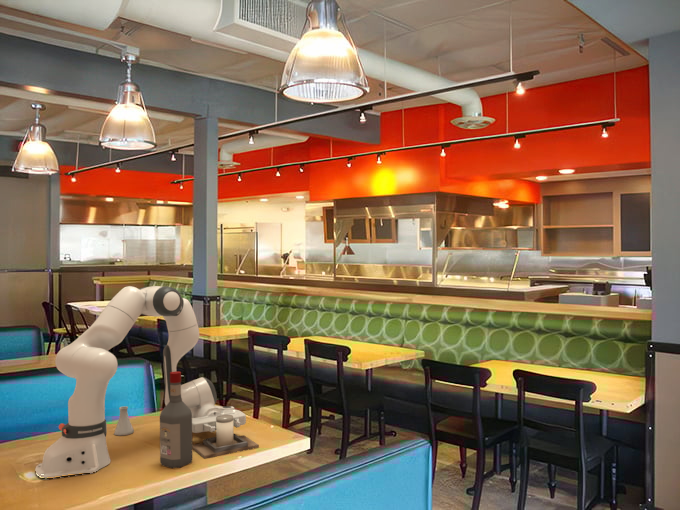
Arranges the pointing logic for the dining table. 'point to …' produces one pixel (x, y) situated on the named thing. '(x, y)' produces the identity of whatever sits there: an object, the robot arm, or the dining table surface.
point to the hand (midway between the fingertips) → (225, 427)
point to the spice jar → (224, 430)
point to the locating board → (211, 450)
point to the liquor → (175, 428)
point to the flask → (123, 423)
